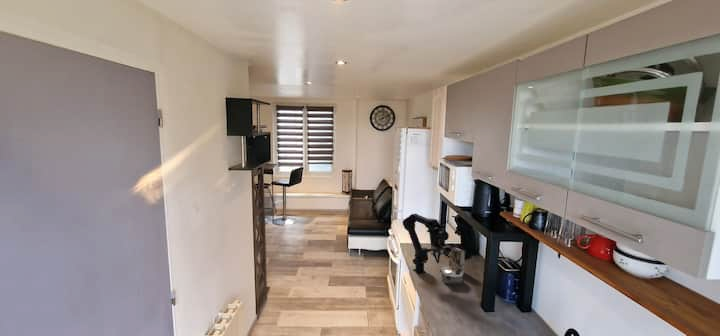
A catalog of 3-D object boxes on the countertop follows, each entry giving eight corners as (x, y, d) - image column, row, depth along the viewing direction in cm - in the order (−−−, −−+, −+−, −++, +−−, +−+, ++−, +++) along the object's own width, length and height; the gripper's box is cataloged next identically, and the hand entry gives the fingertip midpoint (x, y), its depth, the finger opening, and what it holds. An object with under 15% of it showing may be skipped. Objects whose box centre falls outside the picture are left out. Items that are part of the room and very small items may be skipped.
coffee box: (464, 272, 205) (466, 250, 203) (459, 275, 201) (461, 253, 198) (453, 267, 212) (454, 246, 210) (448, 270, 208) (449, 248, 205)
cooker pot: (436, 283, 190) (436, 274, 189) (445, 272, 204) (445, 264, 203) (457, 290, 182) (458, 281, 181) (465, 278, 196) (466, 270, 195)
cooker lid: (438, 273, 190) (438, 270, 190) (445, 265, 201) (445, 262, 201) (459, 279, 182) (459, 276, 182) (465, 271, 193) (465, 268, 193)
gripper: (420, 242, 184) (423, 267, 183) (450, 240, 181) (454, 265, 180) (420, 239, 195) (423, 263, 194) (448, 237, 192) (452, 261, 190)
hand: (437, 263), depth 189 cm, fingers closed
